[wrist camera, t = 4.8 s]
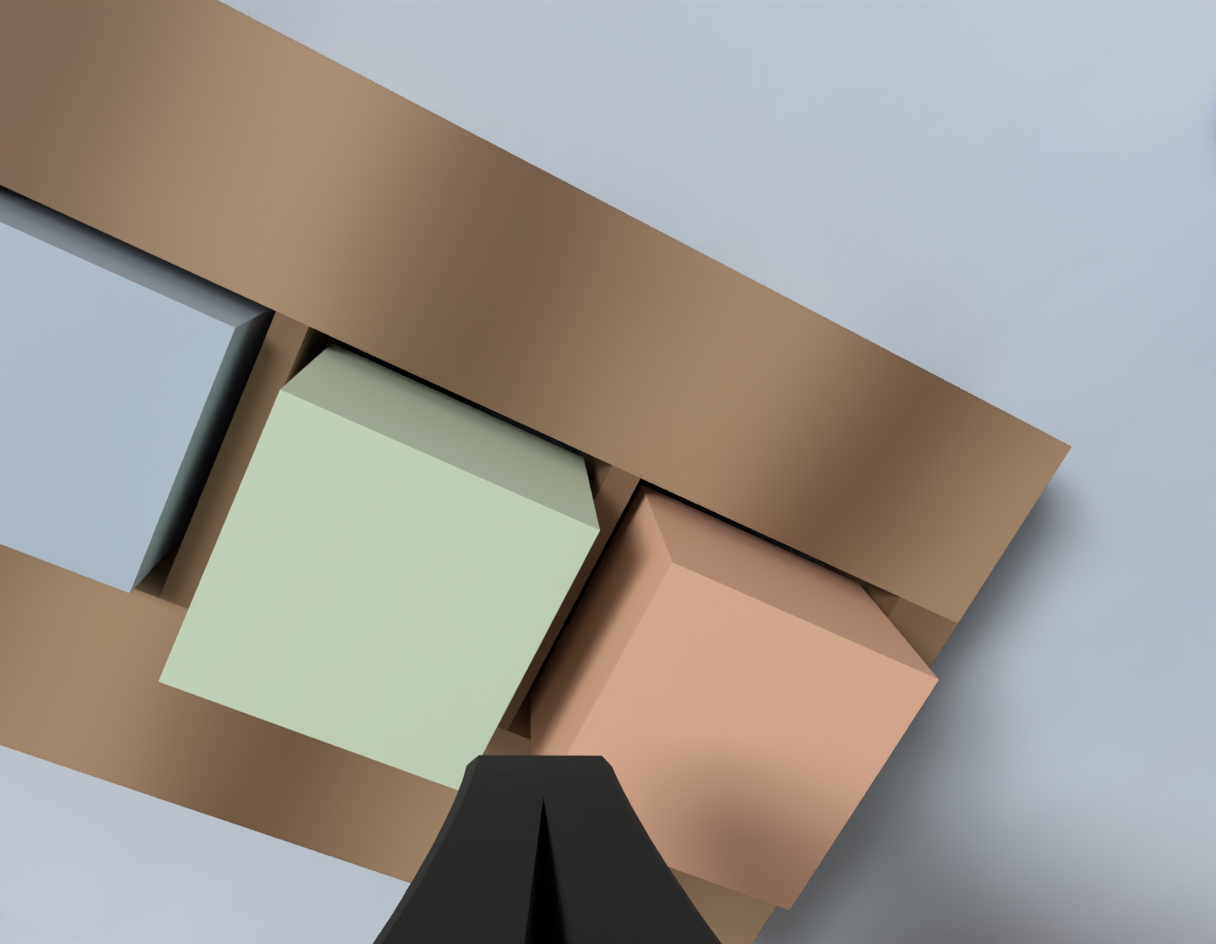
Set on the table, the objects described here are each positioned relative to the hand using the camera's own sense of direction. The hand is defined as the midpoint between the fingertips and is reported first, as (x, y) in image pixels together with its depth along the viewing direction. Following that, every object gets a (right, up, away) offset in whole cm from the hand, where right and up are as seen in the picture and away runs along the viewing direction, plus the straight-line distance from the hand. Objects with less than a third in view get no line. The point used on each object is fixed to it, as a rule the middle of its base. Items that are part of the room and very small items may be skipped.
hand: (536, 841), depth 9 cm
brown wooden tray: (-3, +4, +8) cm, 10 cm away
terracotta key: (+2, +1, +8) cm, 8 cm away
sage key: (-3, +3, +6) cm, 8 cm away
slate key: (-8, +6, +7) cm, 12 cm away
